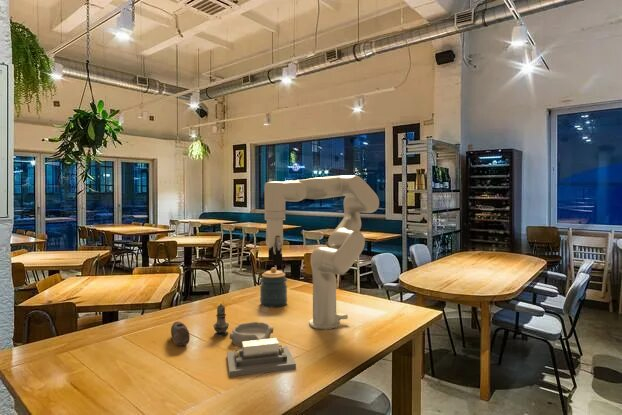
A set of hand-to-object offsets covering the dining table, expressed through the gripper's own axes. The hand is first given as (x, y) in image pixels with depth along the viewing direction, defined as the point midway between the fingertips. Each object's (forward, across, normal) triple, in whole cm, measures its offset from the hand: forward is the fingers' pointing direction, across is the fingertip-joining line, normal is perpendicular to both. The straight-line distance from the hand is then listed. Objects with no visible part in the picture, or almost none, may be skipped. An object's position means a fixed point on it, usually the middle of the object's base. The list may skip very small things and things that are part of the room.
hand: (275, 262), depth 142 cm
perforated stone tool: (+29, -7, -34) cm, 45 cm away
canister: (+28, -44, +7) cm, 53 cm away
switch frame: (+28, +18, -8) cm, 34 cm away
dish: (+29, -1, -9) cm, 30 cm away
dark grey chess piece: (+28, -10, -19) cm, 36 cm away
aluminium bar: (+27, +18, -8) cm, 33 cm away
